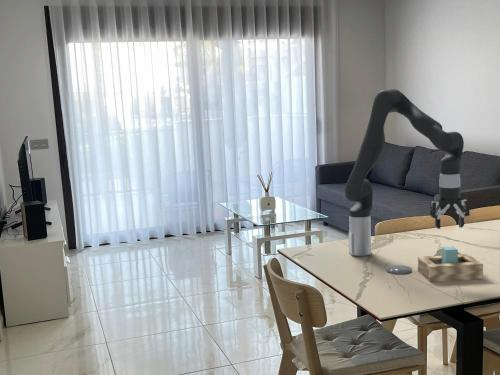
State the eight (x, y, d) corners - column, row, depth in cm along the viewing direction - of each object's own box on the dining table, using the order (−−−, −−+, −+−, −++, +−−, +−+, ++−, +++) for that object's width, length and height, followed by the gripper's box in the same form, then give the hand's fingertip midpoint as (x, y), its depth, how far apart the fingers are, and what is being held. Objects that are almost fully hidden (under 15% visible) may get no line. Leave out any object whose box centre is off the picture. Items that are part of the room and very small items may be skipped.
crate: (429, 281, 218) (429, 266, 217) (417, 271, 232) (417, 256, 231) (482, 278, 219) (483, 263, 218) (467, 268, 232) (467, 254, 232)
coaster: (389, 275, 228) (389, 273, 228) (383, 267, 238) (383, 265, 238) (415, 273, 229) (415, 271, 229) (407, 266, 239) (407, 264, 238)
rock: (457, 265, 238) (457, 255, 237) (430, 261, 245) (430, 251, 244) (466, 259, 246) (466, 249, 245) (440, 255, 253) (440, 246, 252)
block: (445, 270, 222) (445, 250, 221) (441, 267, 227) (441, 247, 226) (457, 269, 223) (457, 249, 221) (453, 266, 227) (453, 246, 226)
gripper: (434, 188, 216) (434, 231, 218) (472, 185, 216) (472, 228, 219) (427, 185, 223) (427, 226, 226) (464, 183, 224) (464, 224, 226)
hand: (449, 227), depth 222 cm, fingers open, 8 cm apart
